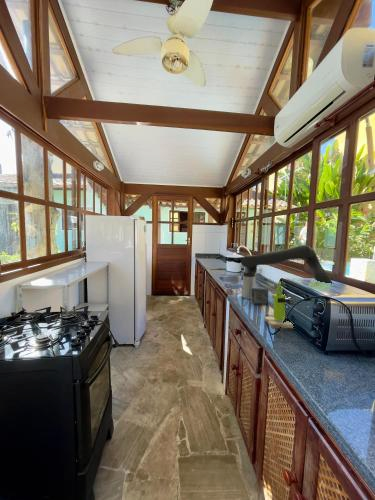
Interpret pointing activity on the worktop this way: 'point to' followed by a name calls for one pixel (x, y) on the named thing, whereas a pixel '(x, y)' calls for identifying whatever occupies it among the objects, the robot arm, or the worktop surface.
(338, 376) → the worktop surface
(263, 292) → the small box
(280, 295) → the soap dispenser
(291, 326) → the birch board
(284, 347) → the worktop surface
